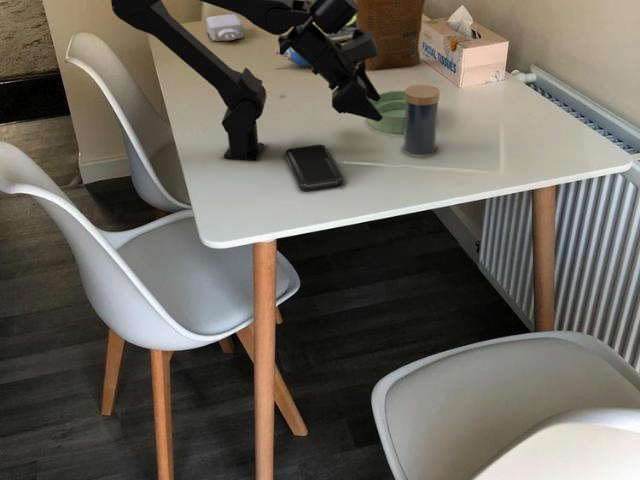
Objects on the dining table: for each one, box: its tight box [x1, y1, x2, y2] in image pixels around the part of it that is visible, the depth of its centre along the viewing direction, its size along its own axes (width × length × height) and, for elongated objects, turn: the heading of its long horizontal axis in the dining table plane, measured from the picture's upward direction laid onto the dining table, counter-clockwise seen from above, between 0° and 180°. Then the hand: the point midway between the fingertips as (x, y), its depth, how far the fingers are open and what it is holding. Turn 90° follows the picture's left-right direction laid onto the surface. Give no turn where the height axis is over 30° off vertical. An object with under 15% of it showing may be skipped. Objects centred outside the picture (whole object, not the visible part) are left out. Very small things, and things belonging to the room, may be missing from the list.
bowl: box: [366, 90, 406, 135], centre depth 139 cm, size 14×14×4 cm
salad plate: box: [313, 15, 357, 43], centre depth 190 cm, size 19×18×5 cm
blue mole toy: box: [274, 47, 311, 68], centre depth 168 cm, size 12×12×8 cm
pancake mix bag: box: [354, 0, 426, 71], centre depth 161 cm, size 7×19×28 cm, turn 102°
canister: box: [403, 84, 441, 156], centre depth 126 cm, size 6×6×12 cm
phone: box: [285, 144, 344, 192], centre depth 124 cm, size 8×1×15 cm
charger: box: [205, 13, 245, 42], centre depth 190 cm, size 5×9×15 cm
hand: (380, 109), depth 125 cm, fingers open, 9 cm apart
